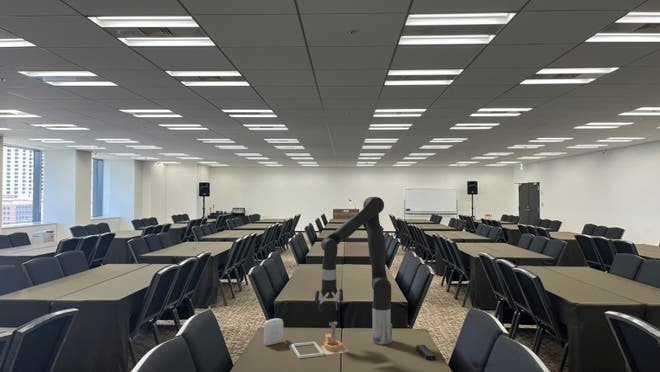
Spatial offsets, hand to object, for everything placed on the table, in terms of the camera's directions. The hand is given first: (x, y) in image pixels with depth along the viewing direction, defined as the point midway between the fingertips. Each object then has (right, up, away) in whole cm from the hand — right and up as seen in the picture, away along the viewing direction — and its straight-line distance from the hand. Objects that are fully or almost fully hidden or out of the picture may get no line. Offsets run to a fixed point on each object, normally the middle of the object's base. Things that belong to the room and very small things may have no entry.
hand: (329, 310), depth 207 cm
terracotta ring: (+1, -16, -5) cm, 17 cm away
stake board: (+2, -18, -9) cm, 20 cm away
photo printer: (-28, -18, +3) cm, 34 cm away
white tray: (-10, -17, -11) cm, 23 cm away
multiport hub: (+46, -18, -11) cm, 51 cm away
